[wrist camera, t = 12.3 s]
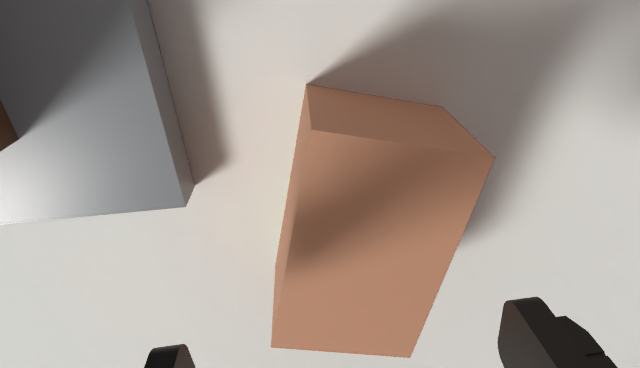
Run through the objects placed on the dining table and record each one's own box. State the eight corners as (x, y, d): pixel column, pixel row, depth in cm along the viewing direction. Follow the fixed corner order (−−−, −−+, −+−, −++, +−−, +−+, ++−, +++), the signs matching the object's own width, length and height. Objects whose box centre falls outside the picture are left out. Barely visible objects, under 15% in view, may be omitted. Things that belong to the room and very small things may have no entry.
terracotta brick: (440, 105, 15) (495, 157, 11) (384, 273, 18) (410, 358, 15) (305, 82, 14) (311, 129, 10) (275, 262, 18) (271, 347, 14)
